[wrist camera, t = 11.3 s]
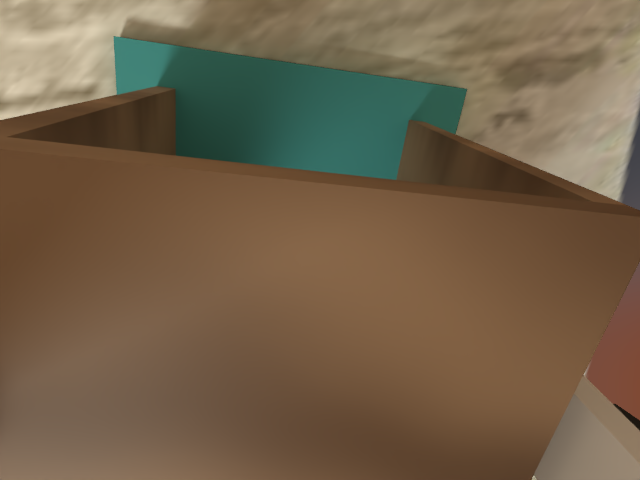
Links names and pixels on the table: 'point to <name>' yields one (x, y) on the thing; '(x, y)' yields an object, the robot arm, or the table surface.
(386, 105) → the mat
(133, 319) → the brown wooden box frame
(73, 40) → the table surface
